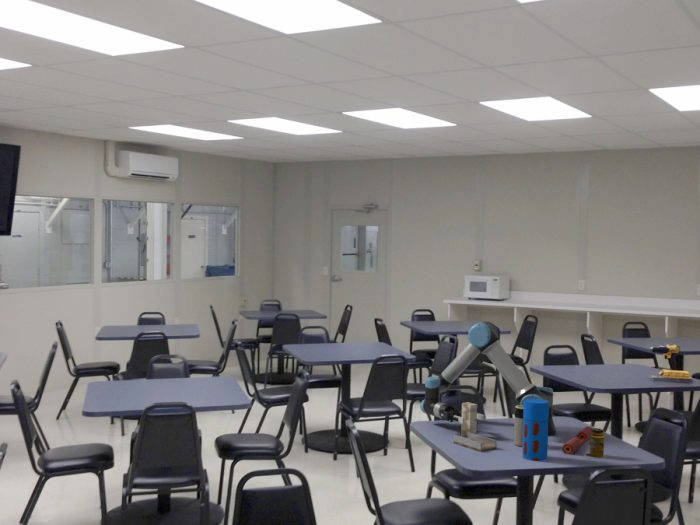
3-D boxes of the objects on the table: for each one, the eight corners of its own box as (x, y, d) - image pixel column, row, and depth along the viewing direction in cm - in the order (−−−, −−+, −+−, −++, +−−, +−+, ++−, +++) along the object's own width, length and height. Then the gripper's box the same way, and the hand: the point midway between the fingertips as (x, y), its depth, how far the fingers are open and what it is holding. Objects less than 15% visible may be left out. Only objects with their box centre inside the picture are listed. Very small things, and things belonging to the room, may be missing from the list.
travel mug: (510, 444, 363) (511, 406, 362) (519, 441, 368) (520, 404, 368) (525, 447, 357) (526, 409, 357) (534, 445, 363) (535, 406, 363)
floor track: (453, 443, 363) (453, 434, 363) (469, 440, 369) (469, 432, 369) (480, 451, 348) (480, 443, 348) (496, 449, 354) (496, 440, 354)
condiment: (607, 457, 343) (608, 430, 343) (590, 458, 341) (591, 431, 341) (598, 453, 350) (599, 427, 350) (581, 454, 348) (582, 427, 348)
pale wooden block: (461, 435, 378) (461, 403, 378) (467, 434, 381) (468, 402, 381) (469, 438, 373) (470, 405, 373) (476, 437, 376) (477, 404, 376)
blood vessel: (573, 455, 347) (573, 444, 347) (561, 453, 349) (562, 442, 349) (593, 437, 383) (594, 427, 383) (583, 435, 386) (583, 425, 386)
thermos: (547, 461, 334) (549, 404, 334) (522, 459, 336) (524, 402, 336) (546, 455, 345) (548, 399, 344) (522, 453, 347) (523, 398, 346)
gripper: (462, 416, 399) (492, 424, 381) (425, 421, 385) (454, 429, 367) (462, 401, 399) (492, 409, 381) (425, 406, 385) (454, 414, 367)
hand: (473, 419), depth 374 cm, fingers open, 13 cm apart
